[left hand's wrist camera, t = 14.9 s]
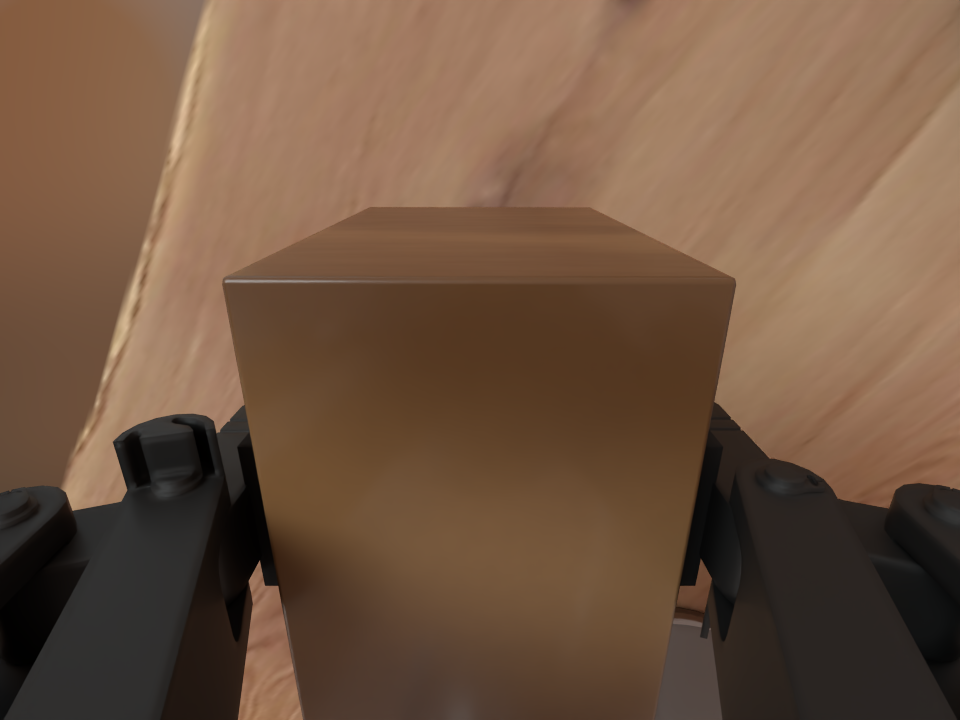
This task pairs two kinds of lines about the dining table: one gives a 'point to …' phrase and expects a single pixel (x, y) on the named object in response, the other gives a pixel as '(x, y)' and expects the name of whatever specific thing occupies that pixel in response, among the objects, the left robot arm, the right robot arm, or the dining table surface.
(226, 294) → the bar
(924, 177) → the dining table surface
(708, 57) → the dining table surface
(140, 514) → the left robot arm
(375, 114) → the dining table surface
